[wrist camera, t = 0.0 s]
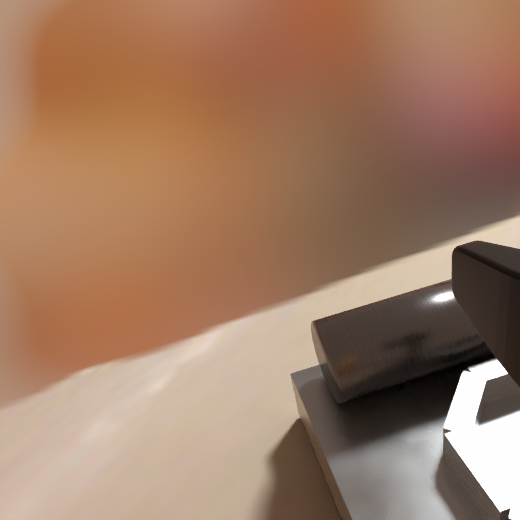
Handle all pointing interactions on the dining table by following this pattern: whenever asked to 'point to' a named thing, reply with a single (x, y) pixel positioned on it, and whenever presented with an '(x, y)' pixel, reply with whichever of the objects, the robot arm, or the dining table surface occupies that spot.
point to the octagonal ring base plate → (412, 412)
